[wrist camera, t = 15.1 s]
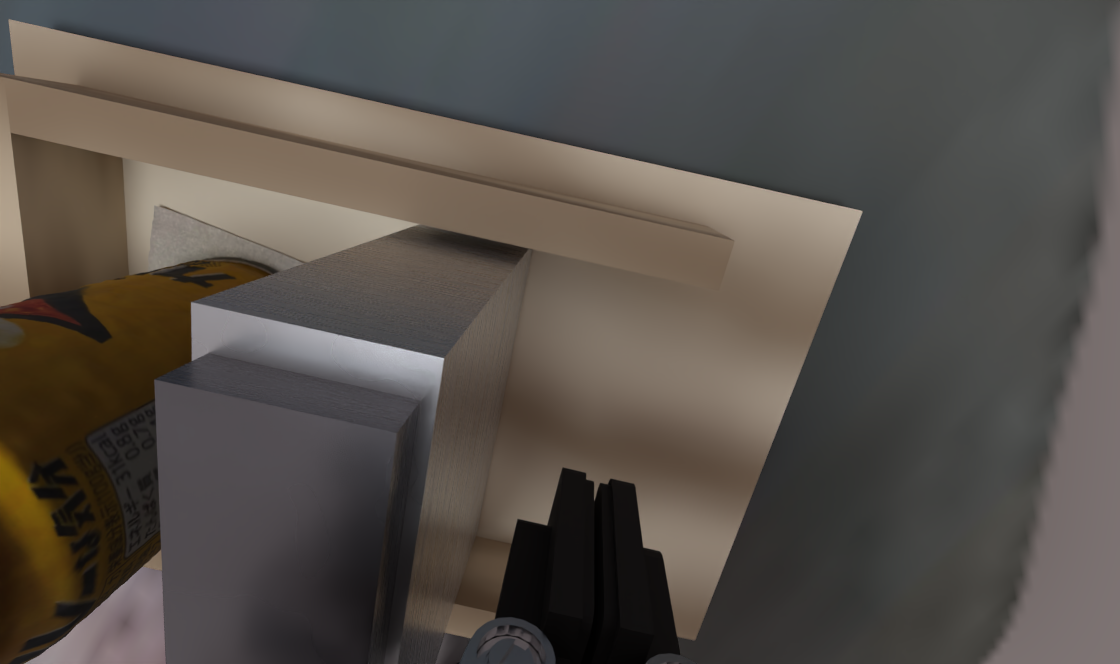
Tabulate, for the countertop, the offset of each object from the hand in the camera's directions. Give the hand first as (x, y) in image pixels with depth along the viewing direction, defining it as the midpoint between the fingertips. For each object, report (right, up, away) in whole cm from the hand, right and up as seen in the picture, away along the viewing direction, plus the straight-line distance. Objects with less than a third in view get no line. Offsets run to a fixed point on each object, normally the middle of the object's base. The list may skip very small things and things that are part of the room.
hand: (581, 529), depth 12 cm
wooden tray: (-5, +3, +6) cm, 9 cm away
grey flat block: (-4, +3, +5) cm, 7 cm away
